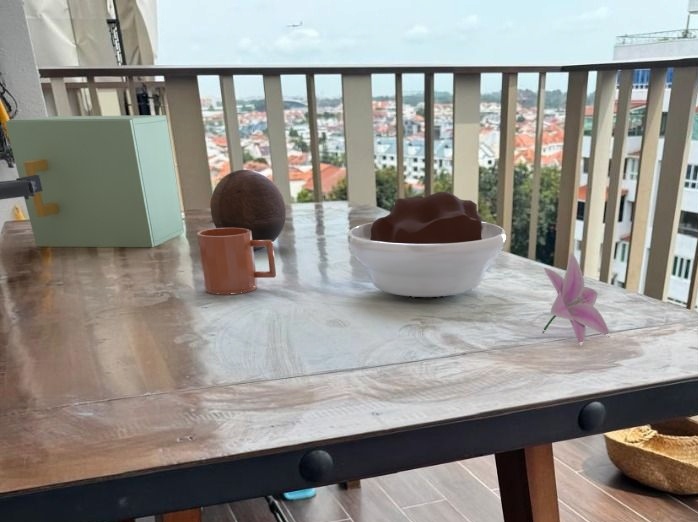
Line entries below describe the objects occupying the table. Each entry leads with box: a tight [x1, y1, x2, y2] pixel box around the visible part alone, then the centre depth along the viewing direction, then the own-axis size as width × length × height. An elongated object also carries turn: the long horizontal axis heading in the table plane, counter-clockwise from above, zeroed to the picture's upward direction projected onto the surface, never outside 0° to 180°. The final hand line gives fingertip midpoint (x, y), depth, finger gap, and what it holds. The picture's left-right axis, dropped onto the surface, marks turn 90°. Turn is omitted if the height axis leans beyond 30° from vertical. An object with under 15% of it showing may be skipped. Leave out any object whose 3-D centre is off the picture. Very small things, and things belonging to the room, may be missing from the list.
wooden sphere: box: [210, 169, 287, 251], centre depth 153 cm, size 15×15×15 cm
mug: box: [196, 227, 277, 296], centre depth 125 cm, size 12×9×9 cm
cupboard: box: [7, 114, 185, 248], centre depth 163 cm, size 18×26×24 cm
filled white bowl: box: [347, 191, 507, 299], centre depth 119 cm, size 25×25×15 cm
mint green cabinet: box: [4, 120, 154, 248], centre depth 152 cm, size 7×26×24 cm, turn 84°
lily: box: [542, 252, 611, 349], centre depth 99 cm, size 12×12×10 cm
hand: (4, 183), depth 141 cm, fingers open, 13 cm apart
